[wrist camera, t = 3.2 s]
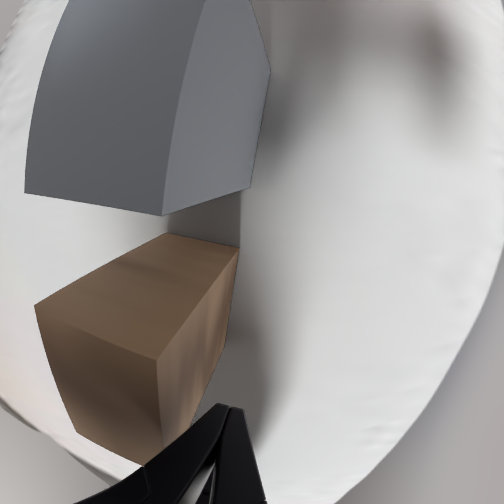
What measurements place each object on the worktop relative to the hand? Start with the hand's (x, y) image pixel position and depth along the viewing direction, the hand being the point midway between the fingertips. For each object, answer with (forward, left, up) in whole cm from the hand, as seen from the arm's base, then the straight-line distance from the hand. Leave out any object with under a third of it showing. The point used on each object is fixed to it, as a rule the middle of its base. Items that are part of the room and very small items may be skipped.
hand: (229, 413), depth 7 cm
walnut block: (0, +4, -7) cm, 8 cm away
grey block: (+9, +4, -7) cm, 12 cm away
